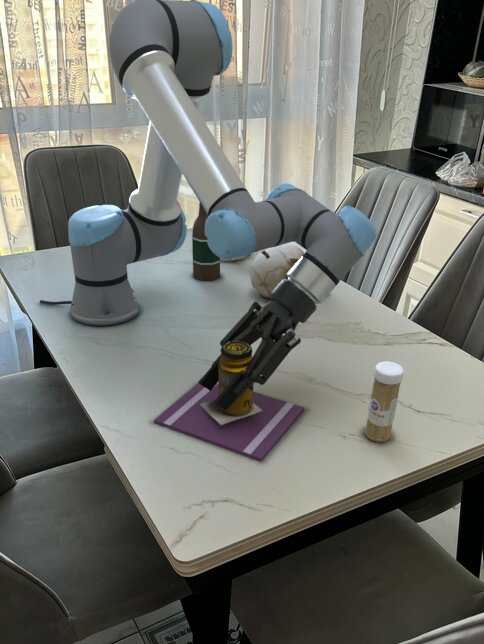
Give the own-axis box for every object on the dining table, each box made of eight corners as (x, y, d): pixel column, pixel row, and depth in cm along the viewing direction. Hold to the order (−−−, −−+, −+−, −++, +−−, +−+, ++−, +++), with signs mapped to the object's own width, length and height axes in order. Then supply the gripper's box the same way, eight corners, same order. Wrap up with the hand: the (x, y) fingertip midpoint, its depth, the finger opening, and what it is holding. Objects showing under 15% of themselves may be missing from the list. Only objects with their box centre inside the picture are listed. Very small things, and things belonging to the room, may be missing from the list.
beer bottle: (225, 273, 164) (226, 181, 151) (214, 283, 158) (214, 189, 144) (199, 268, 166) (197, 178, 153) (187, 278, 160) (184, 185, 146)
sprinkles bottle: (359, 435, 103) (369, 367, 96) (372, 424, 106) (384, 357, 99) (382, 446, 101) (395, 377, 93) (395, 434, 104) (409, 366, 96)
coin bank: (332, 291, 155) (333, 241, 147) (292, 319, 145) (290, 267, 137) (284, 277, 163) (282, 229, 155) (242, 302, 153) (238, 252, 145)
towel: (154, 422, 104) (153, 419, 104) (205, 379, 117) (205, 376, 117) (261, 461, 96) (261, 458, 96) (304, 410, 109) (304, 407, 109)
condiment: (262, 411, 105) (265, 350, 99) (221, 425, 101) (220, 363, 95) (240, 392, 110) (241, 333, 104) (199, 405, 106) (198, 345, 100)
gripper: (345, 326, 95) (250, 435, 98) (286, 283, 110) (204, 379, 112) (320, 301, 90) (220, 416, 93) (261, 259, 105) (176, 360, 107)
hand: (212, 395), depth 103 cm, fingers closed on condiment, 6 cm apart
